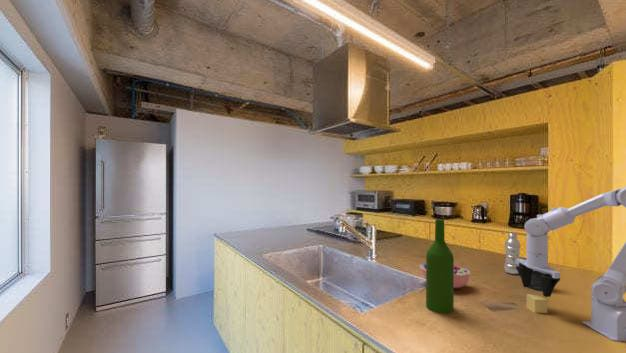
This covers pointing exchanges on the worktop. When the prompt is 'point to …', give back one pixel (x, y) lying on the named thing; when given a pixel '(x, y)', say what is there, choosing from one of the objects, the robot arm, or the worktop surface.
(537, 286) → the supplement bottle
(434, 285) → the wine bottle
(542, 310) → the ochre block
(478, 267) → the worktop surface
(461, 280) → the cell model
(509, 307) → the walnut base
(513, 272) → the plastic bottle
